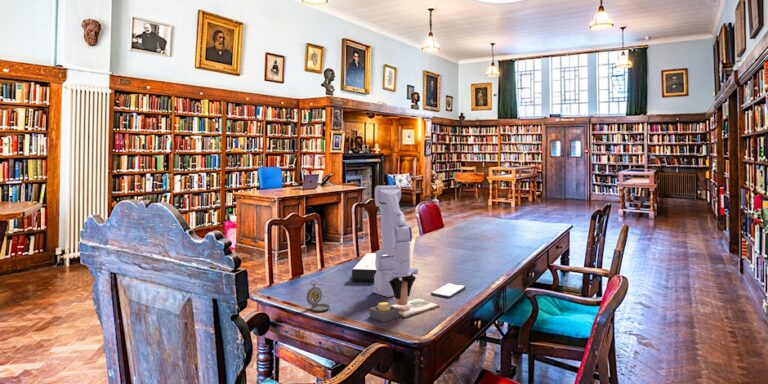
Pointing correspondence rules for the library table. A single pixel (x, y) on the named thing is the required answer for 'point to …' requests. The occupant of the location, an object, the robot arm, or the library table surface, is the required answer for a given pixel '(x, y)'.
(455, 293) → the phone case
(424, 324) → the library table surface
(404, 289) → the brown cylinder
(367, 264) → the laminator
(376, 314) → the button base
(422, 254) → the library table surface
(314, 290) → the pocket watch
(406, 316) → the colouring board
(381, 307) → the button
